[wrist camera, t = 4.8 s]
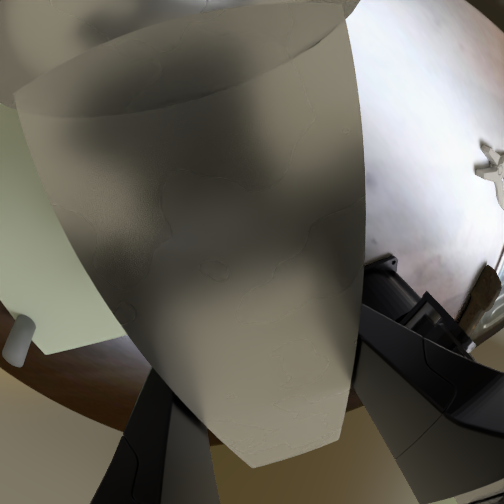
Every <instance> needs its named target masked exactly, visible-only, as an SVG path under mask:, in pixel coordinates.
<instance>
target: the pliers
mask: <svg viewBox="0 0 504 504" xmlns="http://www.w3.org/2000/svg"><path fill="white" fill-rule="evenodd" d="M481 150H482V152H483V153H484V154H485V156H486V157H487V158H488V160H489V161H490V167H488V168H483V169H476V173H475V175H477V176H479V177H481V178H483V179H486V180H490V181H493V182H494V183H495V187H496V196H497V200H498V203H499V205H500V206H501V208H502V209H503V210H504V191H503V181H502V178H503V175H504V154H503V155H501V156H500V155H499V154H497V153H496V152H495V151H494V150H492V149H491V148H489V147H487V146H484V145H482V147H481ZM503 179H504V178H503Z"/></svg>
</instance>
